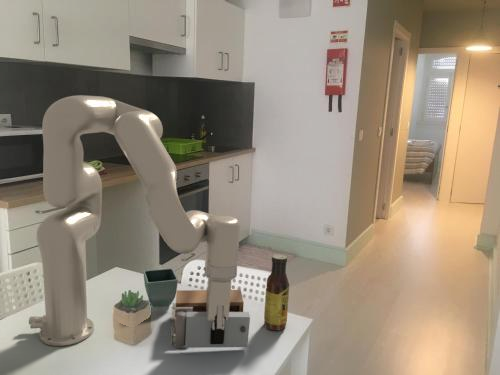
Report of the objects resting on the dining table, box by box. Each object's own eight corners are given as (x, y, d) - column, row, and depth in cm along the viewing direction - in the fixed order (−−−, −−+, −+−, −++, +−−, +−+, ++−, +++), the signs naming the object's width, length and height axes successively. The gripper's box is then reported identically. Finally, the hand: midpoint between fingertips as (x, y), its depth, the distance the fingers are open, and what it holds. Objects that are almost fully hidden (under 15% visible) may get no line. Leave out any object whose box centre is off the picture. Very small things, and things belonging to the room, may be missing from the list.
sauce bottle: (285, 333, 111) (290, 262, 107) (261, 329, 112) (265, 260, 108) (287, 321, 117) (292, 254, 113) (265, 317, 118) (269, 251, 114)
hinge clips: (170, 345, 103) (171, 319, 101) (172, 327, 111) (172, 303, 109) (192, 344, 103) (192, 318, 102) (192, 327, 111) (192, 302, 110)
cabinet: (175, 327, 111) (175, 303, 109) (176, 313, 118) (176, 290, 117) (242, 325, 113) (243, 302, 112) (239, 312, 121) (240, 289, 119)
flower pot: (178, 308, 121) (178, 279, 119) (147, 312, 118) (147, 282, 116) (172, 295, 129) (172, 267, 127) (143, 298, 126) (143, 270, 124)
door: (174, 349, 98) (175, 318, 96) (175, 341, 101) (176, 311, 99) (247, 349, 100) (250, 318, 99) (246, 341, 103) (248, 312, 102)
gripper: (204, 255, 105) (200, 322, 108) (205, 283, 89) (201, 360, 93) (233, 256, 106) (229, 322, 109) (240, 283, 90) (234, 360, 94)
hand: (216, 339), depth 101 cm, fingers closed on door, 2 cm apart
